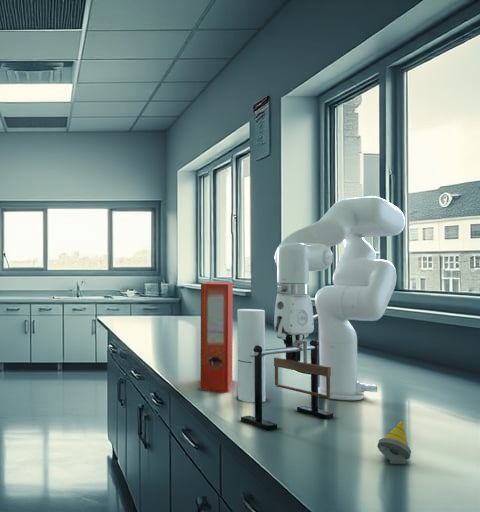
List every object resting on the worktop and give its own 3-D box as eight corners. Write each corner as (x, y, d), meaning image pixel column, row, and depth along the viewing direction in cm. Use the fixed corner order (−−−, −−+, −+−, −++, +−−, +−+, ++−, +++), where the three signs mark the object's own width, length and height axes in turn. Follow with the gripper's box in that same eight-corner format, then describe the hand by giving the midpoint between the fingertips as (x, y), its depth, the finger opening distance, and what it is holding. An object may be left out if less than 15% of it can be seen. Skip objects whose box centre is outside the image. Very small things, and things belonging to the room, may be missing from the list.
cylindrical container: (267, 403, 149) (267, 311, 150) (240, 401, 151) (239, 310, 151) (262, 396, 156) (261, 309, 157) (236, 395, 158) (235, 308, 158)
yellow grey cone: (368, 460, 107) (382, 418, 112) (398, 475, 105) (410, 432, 110) (380, 451, 103) (393, 408, 107) (412, 467, 101) (423, 422, 105)
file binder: (233, 381, 177) (232, 282, 178) (228, 392, 161) (228, 284, 162) (207, 378, 180) (206, 282, 181) (200, 390, 165) (199, 283, 165)
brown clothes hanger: (277, 385, 142) (276, 337, 143) (331, 398, 129) (330, 344, 129) (274, 386, 142) (273, 337, 142) (327, 399, 129) (327, 344, 129)
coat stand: (304, 410, 142) (303, 337, 142) (333, 417, 135) (332, 341, 135) (240, 421, 132) (240, 343, 132) (268, 430, 124) (267, 348, 125)
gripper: (285, 291, 137) (285, 365, 136) (324, 290, 143) (325, 360, 143) (261, 290, 143) (261, 360, 143) (299, 289, 150) (299, 356, 150)
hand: (293, 360), depth 143 cm, fingers closed
